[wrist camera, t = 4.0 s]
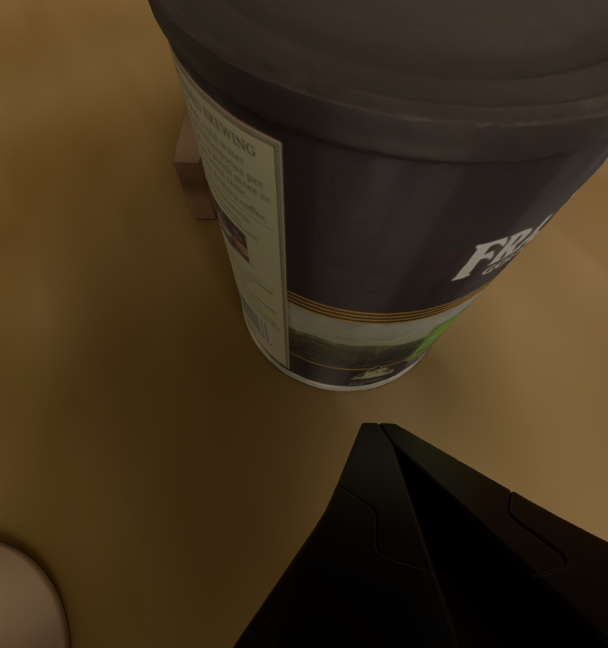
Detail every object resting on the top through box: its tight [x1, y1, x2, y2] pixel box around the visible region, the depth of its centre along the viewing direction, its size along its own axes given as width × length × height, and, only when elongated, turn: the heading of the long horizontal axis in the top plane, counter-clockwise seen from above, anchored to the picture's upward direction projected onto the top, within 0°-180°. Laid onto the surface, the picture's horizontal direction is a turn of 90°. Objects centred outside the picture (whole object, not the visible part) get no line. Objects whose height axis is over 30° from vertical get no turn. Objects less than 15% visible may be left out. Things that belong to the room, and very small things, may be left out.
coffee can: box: [148, 0, 608, 391], centre depth 13 cm, size 10×10×14 cm
